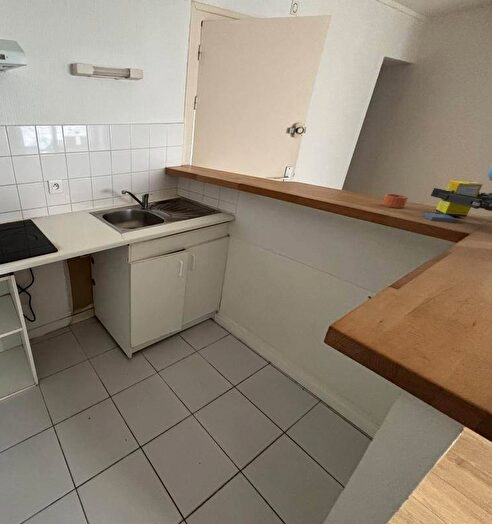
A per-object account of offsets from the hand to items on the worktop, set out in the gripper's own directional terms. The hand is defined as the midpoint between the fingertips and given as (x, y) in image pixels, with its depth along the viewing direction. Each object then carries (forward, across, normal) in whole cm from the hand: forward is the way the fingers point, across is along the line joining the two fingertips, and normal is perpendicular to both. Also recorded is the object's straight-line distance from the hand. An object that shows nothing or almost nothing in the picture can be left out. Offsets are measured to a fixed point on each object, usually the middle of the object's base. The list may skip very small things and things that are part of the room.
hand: (445, 192), depth 98 cm
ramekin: (+7, -10, -7) cm, 14 cm away
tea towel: (-9, -8, -7) cm, 14 cm away
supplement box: (-5, 0, -7) cm, 8 cm away
